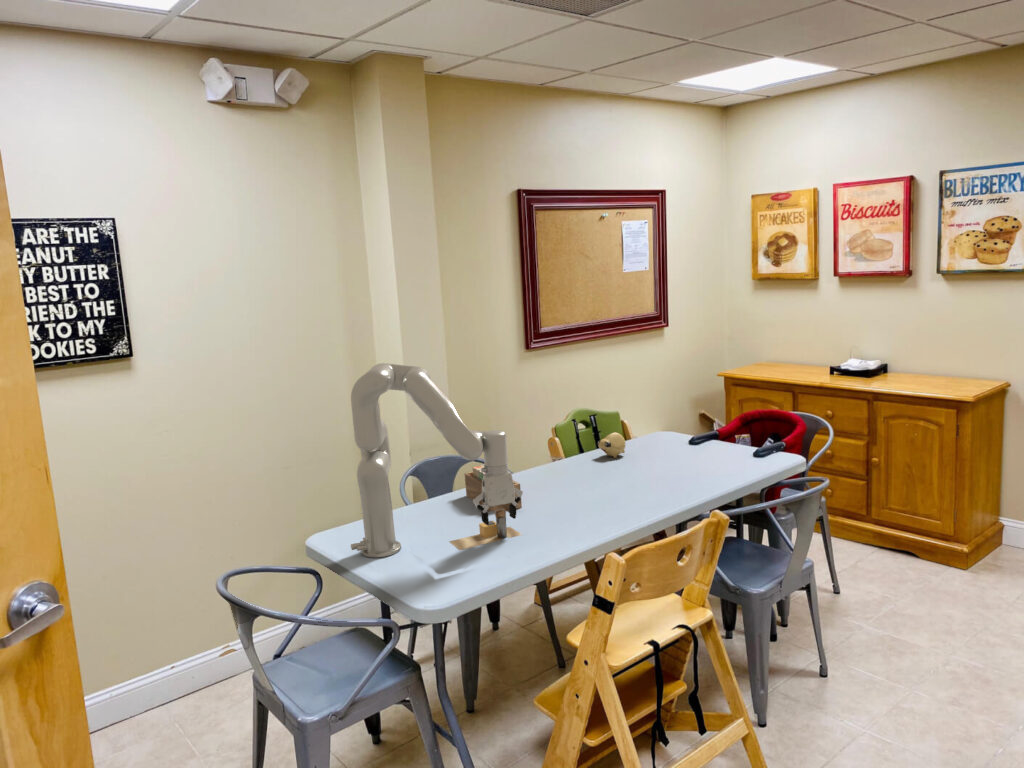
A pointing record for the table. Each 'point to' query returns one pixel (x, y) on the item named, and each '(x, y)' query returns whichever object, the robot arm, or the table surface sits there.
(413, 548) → the table surface
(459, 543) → the board
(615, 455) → the toy pig
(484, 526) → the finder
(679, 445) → the table surface
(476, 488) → the block caddy
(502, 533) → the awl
